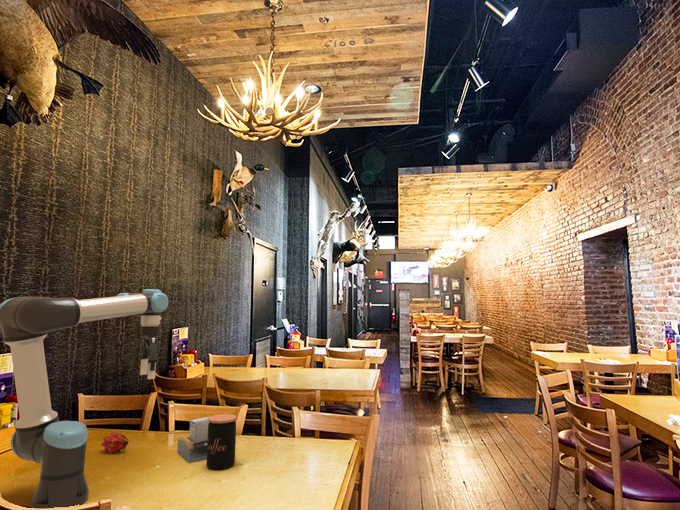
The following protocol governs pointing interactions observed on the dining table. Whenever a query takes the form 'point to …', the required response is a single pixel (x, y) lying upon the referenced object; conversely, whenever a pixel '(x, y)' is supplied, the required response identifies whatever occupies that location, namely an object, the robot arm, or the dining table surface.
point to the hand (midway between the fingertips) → (147, 376)
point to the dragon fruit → (115, 442)
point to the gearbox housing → (191, 449)
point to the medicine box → (199, 430)
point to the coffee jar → (221, 441)
